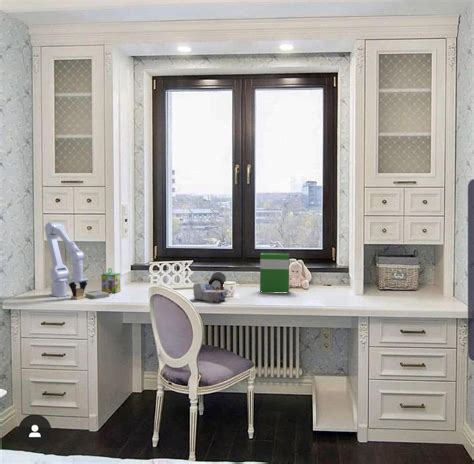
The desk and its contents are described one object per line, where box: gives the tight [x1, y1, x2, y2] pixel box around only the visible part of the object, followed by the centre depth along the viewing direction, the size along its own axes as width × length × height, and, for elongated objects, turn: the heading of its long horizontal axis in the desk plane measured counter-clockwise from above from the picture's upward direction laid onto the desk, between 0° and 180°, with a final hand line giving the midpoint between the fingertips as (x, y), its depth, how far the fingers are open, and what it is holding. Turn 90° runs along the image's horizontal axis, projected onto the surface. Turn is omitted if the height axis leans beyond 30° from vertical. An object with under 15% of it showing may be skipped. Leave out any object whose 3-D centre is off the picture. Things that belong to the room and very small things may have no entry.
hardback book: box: [259, 252, 290, 293], centre depth 365 cm, size 18×7×24 cm, turn 83°
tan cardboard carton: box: [70, 287, 86, 301], centre depth 340 cm, size 7×5×6 cm
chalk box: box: [100, 267, 122, 294], centre depth 362 cm, size 9×9×15 cm
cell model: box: [192, 281, 230, 303], centre depth 338 cm, size 13×11×20 cm
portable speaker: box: [207, 271, 227, 289], centre depth 373 cm, size 26×10×10 cm, turn 178°
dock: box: [84, 290, 110, 300], centre depth 346 cm, size 10×10×2 cm
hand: (78, 295), depth 340 cm, fingers closed on tan cardboard carton, 4 cm apart
